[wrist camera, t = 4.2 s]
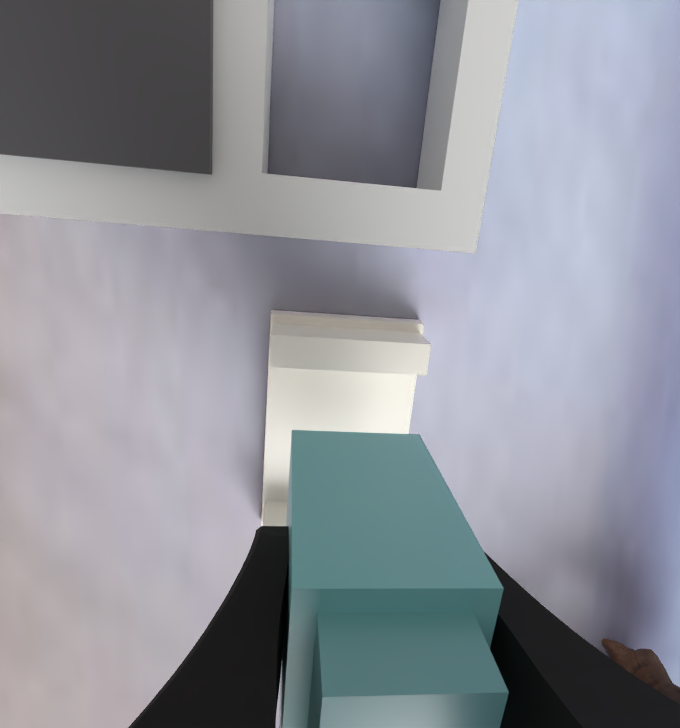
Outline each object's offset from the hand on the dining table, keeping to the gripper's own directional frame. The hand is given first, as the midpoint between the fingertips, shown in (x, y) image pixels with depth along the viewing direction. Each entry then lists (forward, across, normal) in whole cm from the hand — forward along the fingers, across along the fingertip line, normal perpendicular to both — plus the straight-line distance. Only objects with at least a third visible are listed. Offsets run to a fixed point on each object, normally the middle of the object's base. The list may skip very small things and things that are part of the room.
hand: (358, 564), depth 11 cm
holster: (+7, 0, 0) cm, 7 cm away
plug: (+2, 0, 0) cm, 2 cm away
